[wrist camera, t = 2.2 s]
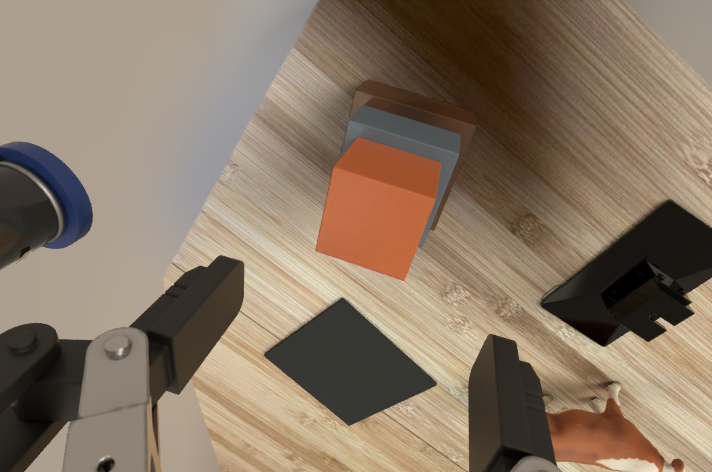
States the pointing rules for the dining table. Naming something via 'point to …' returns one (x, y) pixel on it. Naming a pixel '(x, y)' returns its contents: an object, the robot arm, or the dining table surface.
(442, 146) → the middle block
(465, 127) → the base block
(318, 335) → the mat
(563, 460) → the bull figurine
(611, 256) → the build plate
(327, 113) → the dining table surface
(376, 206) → the top block
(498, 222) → the dining table surface
